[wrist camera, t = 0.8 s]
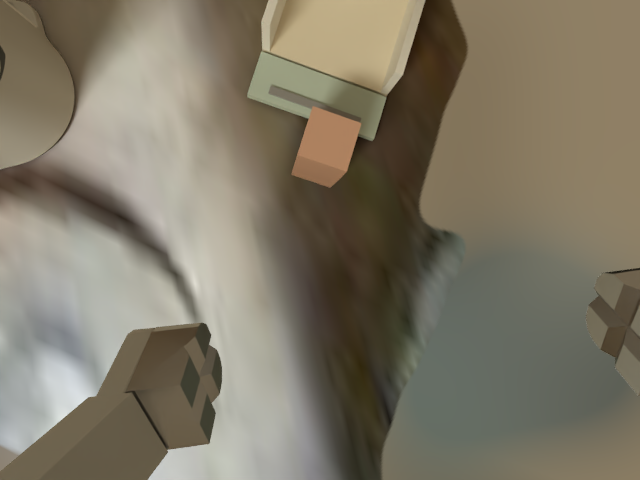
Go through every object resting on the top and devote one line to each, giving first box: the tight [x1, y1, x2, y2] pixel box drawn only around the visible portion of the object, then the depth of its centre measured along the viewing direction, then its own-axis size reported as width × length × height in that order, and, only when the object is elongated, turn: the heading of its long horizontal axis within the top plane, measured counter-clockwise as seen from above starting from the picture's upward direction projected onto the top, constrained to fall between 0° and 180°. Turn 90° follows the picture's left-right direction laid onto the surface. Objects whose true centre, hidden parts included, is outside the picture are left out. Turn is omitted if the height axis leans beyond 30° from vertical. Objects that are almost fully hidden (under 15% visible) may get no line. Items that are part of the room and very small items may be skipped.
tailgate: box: [247, 51, 387, 141], centre depth 42 cm, size 14×1×5 cm
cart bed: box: [262, 0, 425, 97], centre depth 41 cm, size 14×13×6 cm
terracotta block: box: [291, 106, 362, 188], centre depth 39 cm, size 4×4×9 cm
